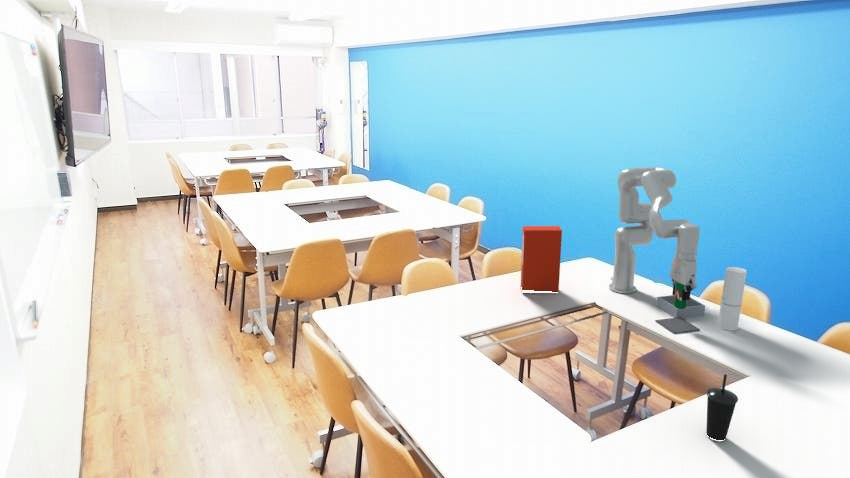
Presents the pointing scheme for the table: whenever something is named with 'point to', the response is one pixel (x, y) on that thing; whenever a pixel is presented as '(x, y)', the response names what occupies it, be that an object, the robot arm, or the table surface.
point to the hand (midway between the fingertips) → (680, 296)
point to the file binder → (541, 258)
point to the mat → (677, 325)
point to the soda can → (679, 296)
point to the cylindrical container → (732, 298)
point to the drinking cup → (719, 411)
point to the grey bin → (691, 310)
